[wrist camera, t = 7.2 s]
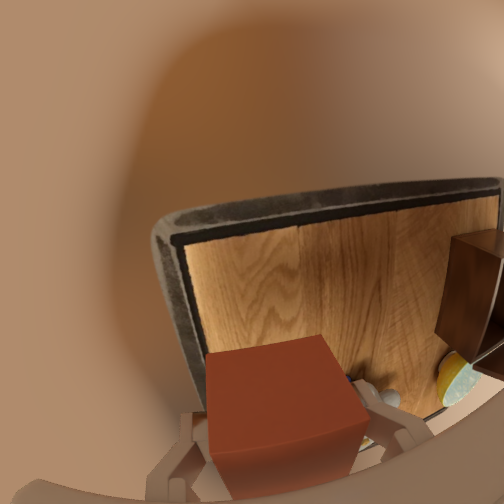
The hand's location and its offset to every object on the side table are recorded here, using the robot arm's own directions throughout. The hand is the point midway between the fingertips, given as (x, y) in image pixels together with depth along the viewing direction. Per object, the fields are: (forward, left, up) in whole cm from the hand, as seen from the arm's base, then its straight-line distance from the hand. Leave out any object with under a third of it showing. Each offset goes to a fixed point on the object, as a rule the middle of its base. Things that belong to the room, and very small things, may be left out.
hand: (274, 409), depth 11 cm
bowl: (-13, +39, -17) cm, 44 cm away
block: (0, 0, -2) cm, 2 cm away
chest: (-22, +26, -16) cm, 37 cm away
